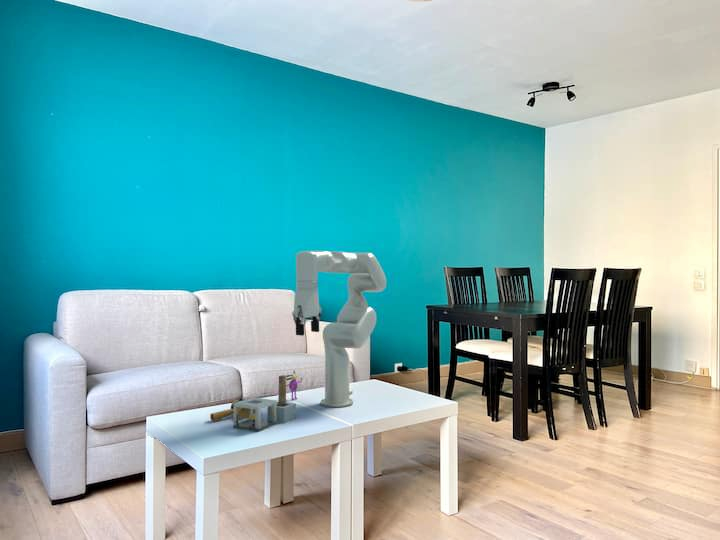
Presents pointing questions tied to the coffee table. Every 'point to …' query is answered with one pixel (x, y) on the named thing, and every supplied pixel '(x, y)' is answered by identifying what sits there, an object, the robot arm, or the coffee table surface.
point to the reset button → (252, 417)
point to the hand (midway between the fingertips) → (307, 333)
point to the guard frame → (255, 409)
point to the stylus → (282, 391)
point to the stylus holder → (284, 413)
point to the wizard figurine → (293, 383)
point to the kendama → (230, 413)
